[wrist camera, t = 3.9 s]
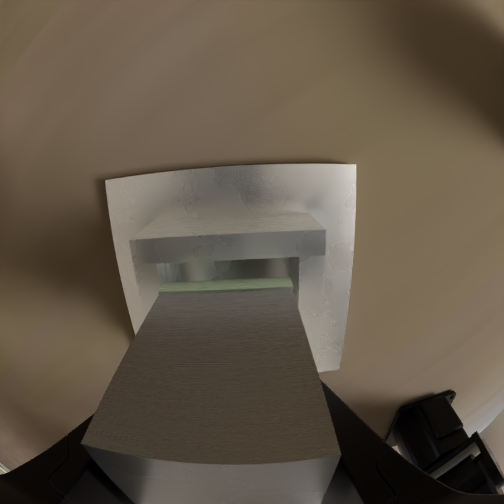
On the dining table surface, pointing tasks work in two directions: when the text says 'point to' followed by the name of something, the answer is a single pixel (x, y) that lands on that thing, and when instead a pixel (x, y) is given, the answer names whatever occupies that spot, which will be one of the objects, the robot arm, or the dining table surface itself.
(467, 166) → the dining table surface
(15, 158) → the dining table surface
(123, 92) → the dining table surface
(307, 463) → the column
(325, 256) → the sleeve block
